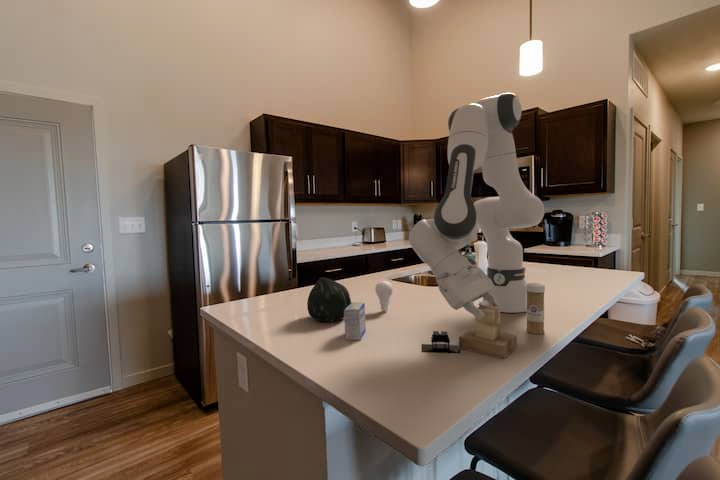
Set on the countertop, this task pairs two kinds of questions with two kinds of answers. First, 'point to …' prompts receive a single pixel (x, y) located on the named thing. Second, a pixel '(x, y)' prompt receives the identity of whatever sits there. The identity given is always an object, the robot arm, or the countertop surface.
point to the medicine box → (354, 321)
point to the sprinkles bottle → (535, 308)
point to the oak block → (488, 323)
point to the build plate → (440, 347)
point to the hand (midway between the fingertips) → (490, 313)
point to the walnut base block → (488, 344)
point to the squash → (328, 300)
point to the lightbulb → (384, 294)
